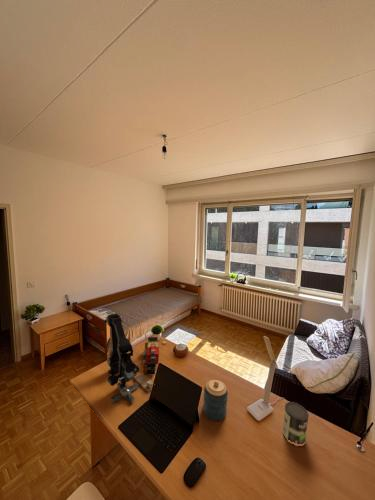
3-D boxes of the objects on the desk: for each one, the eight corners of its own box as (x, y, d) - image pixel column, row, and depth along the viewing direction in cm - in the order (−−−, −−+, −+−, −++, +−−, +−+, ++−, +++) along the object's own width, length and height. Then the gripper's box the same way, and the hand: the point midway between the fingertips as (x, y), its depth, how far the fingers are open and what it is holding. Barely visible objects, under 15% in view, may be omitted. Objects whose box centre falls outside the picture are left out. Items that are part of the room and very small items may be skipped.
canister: (198, 410, 114) (199, 380, 113) (211, 397, 124) (213, 369, 122) (217, 426, 105) (219, 394, 104) (230, 411, 115) (233, 381, 113)
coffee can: (310, 441, 100) (313, 414, 99) (296, 451, 96) (299, 423, 94) (291, 423, 109) (293, 398, 108) (277, 431, 105) (280, 405, 103)
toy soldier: (141, 379, 137) (142, 350, 166) (159, 377, 140) (157, 349, 169) (141, 360, 135) (143, 334, 164) (160, 359, 137) (158, 333, 166)
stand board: (133, 379, 135) (133, 373, 135) (141, 375, 139) (141, 369, 139) (148, 393, 124) (148, 387, 124) (155, 388, 129) (156, 382, 128)
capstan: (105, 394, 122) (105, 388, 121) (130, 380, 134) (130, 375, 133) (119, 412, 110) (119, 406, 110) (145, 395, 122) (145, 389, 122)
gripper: (116, 377, 113) (115, 403, 115) (144, 362, 127) (143, 386, 128) (106, 367, 121) (106, 392, 122) (134, 354, 134) (133, 376, 136)
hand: (123, 386), depth 127 cm, fingers closed
